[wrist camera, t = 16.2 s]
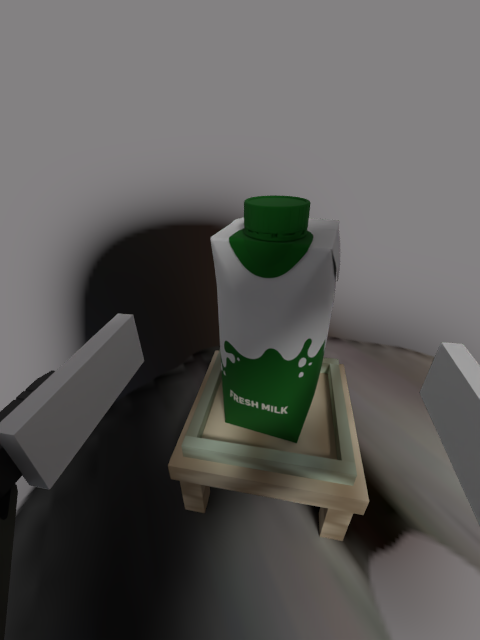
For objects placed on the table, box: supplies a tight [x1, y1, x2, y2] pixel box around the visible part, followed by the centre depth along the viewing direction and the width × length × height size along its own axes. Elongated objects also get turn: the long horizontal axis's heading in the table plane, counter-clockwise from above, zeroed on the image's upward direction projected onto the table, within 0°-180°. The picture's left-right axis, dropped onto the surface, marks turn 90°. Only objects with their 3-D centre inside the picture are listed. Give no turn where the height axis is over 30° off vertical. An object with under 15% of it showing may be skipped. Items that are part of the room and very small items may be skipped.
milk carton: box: [211, 196, 340, 443], centre depth 25 cm, size 9×9×20 cm
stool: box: [168, 350, 369, 541], centre depth 31 cm, size 16×16×10 cm
